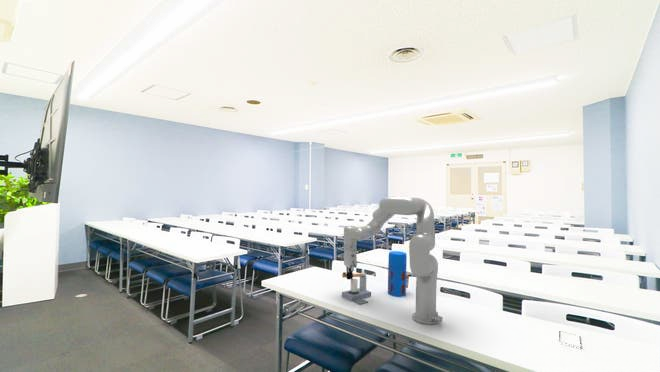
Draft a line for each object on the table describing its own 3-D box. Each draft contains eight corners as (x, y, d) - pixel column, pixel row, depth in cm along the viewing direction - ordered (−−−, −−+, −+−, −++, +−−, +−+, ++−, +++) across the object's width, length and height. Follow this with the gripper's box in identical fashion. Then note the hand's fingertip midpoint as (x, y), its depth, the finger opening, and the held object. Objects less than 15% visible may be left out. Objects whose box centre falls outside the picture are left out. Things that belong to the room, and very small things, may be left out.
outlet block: (370, 296, 173) (371, 277, 173) (351, 301, 164) (352, 281, 164) (360, 291, 180) (361, 274, 180) (341, 296, 171) (342, 277, 172)
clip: (364, 275, 177) (364, 270, 177) (366, 276, 174) (366, 272, 174) (341, 276, 173) (341, 271, 173) (343, 277, 170) (343, 273, 170)
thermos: (404, 291, 183) (405, 251, 184) (407, 297, 172) (408, 255, 173) (386, 290, 184) (387, 250, 185) (388, 296, 173) (389, 254, 174)
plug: (359, 297, 170) (359, 280, 171) (353, 299, 168) (353, 281, 168) (354, 294, 174) (354, 278, 175) (348, 296, 171) (348, 279, 172)
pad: (368, 302, 163) (368, 301, 163) (360, 304, 159) (360, 303, 159) (360, 299, 167) (360, 298, 168) (352, 301, 164) (352, 300, 164)
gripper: (360, 249, 164) (360, 282, 164) (351, 244, 179) (350, 275, 178) (348, 249, 162) (347, 283, 162) (339, 245, 177) (339, 275, 176)
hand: (349, 278), depth 170 cm, fingers closed
